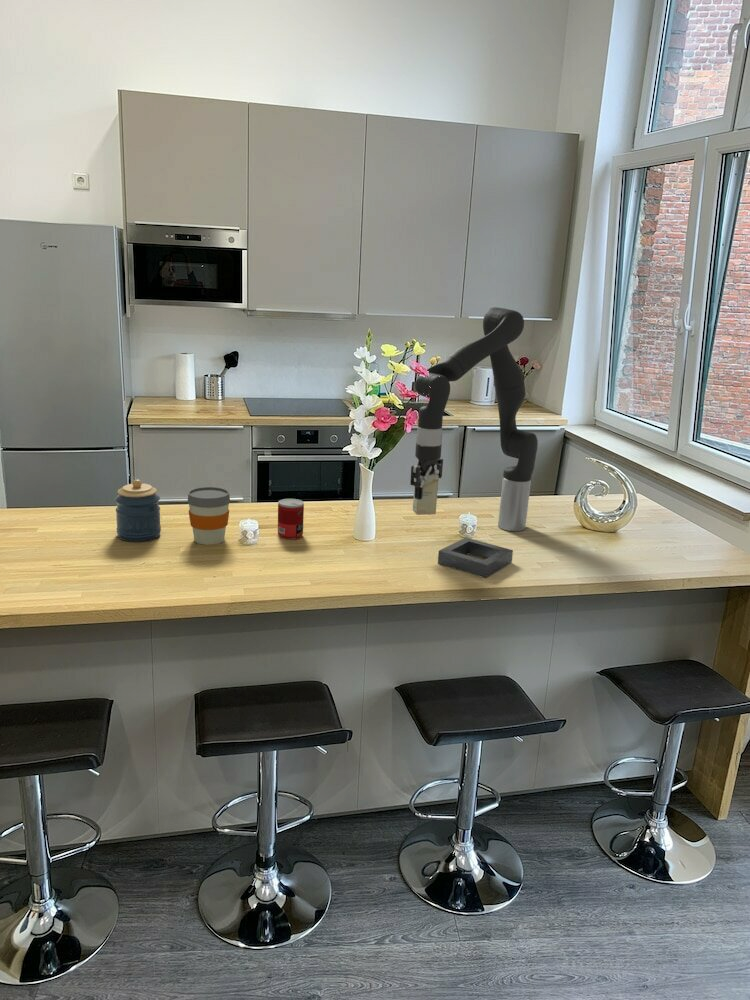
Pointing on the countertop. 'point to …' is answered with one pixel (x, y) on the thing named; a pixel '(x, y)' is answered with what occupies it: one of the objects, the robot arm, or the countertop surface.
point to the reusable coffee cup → (208, 514)
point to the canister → (138, 512)
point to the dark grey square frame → (483, 568)
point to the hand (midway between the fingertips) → (425, 495)
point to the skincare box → (427, 496)
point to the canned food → (290, 518)
